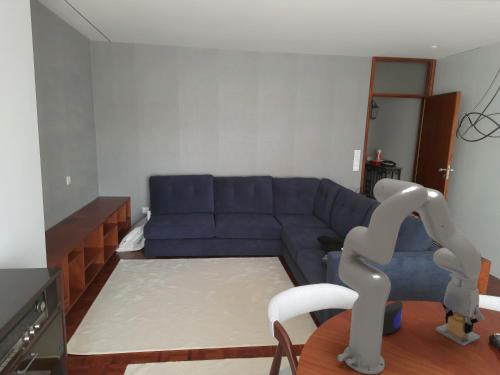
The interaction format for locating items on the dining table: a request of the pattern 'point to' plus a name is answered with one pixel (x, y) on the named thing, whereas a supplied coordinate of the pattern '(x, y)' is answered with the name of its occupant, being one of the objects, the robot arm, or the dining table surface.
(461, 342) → the plate
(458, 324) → the cube with dome knob
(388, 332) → the grey blue curved piece
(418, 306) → the dining table surface
